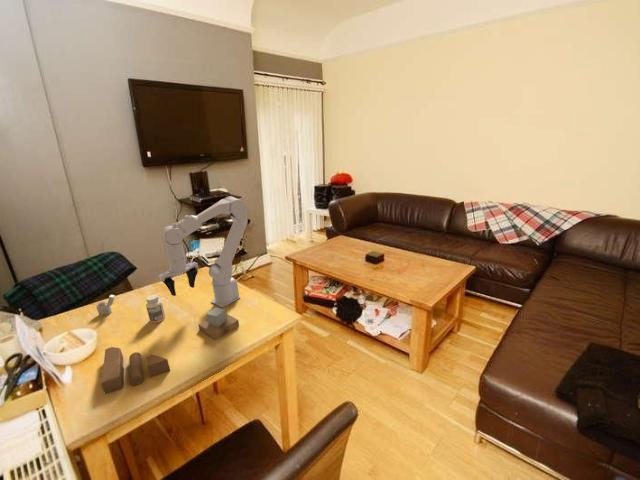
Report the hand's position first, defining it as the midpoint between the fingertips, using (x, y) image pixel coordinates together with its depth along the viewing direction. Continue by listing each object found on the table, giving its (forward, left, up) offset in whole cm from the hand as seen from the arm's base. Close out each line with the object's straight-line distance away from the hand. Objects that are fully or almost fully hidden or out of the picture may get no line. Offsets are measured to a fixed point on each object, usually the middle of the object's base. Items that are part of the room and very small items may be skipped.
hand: (183, 290), depth 121 cm
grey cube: (-1, +18, -8) cm, 20 cm away
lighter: (+18, -28, -11) cm, 35 cm away
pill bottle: (+9, -7, -11) cm, 15 cm away
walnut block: (-1, +18, -11) cm, 21 cm away
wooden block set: (+25, +13, -11) cm, 30 cm away
